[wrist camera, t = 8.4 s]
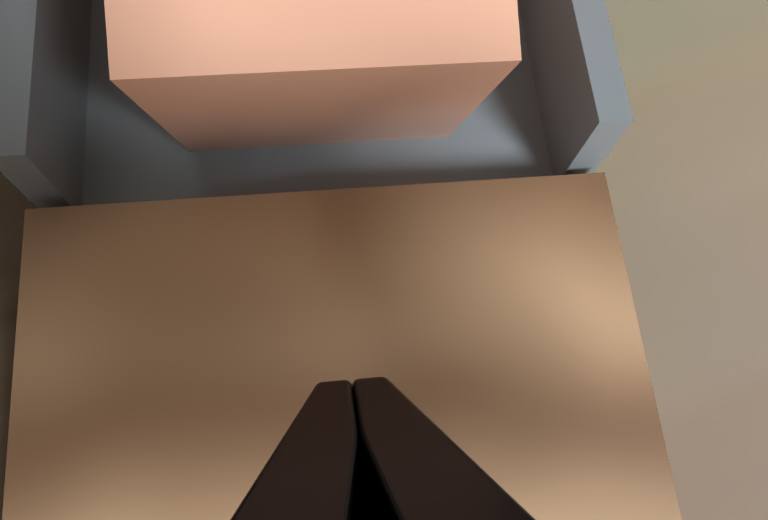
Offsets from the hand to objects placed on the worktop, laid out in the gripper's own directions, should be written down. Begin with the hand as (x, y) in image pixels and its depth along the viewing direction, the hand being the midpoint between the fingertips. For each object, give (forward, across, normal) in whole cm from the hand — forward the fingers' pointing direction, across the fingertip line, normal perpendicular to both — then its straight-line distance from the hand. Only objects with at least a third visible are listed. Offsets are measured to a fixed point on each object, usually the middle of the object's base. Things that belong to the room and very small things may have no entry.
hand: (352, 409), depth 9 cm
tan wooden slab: (+6, 0, +6) cm, 9 cm away
